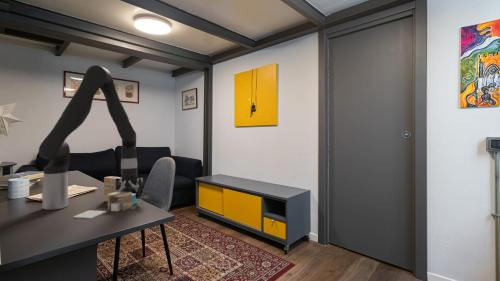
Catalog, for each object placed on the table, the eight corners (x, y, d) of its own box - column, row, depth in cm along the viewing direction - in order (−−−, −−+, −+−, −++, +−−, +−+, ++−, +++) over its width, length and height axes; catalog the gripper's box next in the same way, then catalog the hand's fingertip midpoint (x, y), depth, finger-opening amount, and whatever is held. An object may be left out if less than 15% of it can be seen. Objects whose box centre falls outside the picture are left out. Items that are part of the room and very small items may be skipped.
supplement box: (103, 201, 131) (103, 177, 131) (111, 199, 135) (111, 175, 135) (114, 203, 128) (114, 178, 127) (122, 200, 132) (122, 176, 132)
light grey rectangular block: (111, 211, 115) (111, 204, 115) (123, 205, 124) (123, 198, 124) (117, 211, 115) (117, 204, 115) (129, 206, 124) (129, 199, 124)
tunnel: (107, 209, 117) (107, 194, 116) (116, 206, 123) (116, 191, 122) (124, 210, 116) (123, 195, 115) (131, 206, 121) (131, 192, 121)
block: (122, 205, 124) (122, 195, 124) (128, 202, 129) (128, 193, 129) (131, 205, 124) (131, 196, 124) (137, 203, 129) (137, 193, 129)
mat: (72, 217, 106) (72, 216, 106) (89, 211, 115) (89, 210, 115) (91, 218, 105) (91, 217, 105) (106, 212, 113) (106, 211, 113)
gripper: (111, 167, 123) (112, 199, 123) (137, 168, 121) (138, 200, 121) (121, 165, 130) (122, 195, 131) (146, 166, 128) (146, 196, 129)
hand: (130, 198), depth 126 cm, fingers open, 8 cm apart
